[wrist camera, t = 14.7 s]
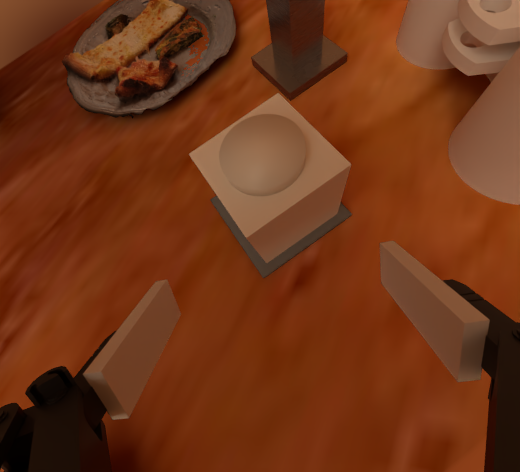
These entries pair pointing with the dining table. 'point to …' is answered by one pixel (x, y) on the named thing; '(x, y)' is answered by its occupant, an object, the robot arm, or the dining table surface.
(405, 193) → the dining table surface
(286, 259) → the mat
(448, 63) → the bracket
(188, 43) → the food plate
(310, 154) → the beige block piece
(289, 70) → the post
